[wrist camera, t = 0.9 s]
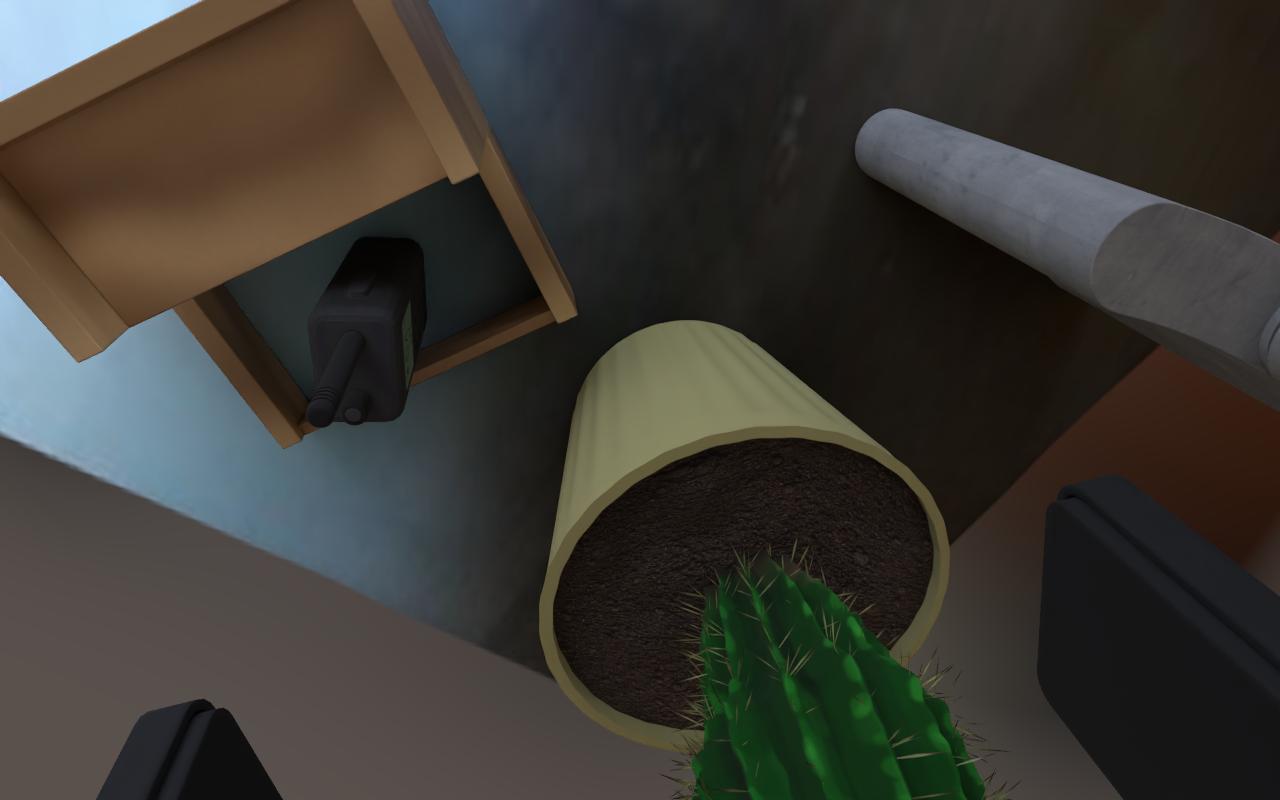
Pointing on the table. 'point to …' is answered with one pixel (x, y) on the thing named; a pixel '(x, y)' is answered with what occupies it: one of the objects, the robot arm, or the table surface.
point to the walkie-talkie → (368, 333)
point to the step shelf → (243, 175)
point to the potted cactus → (748, 580)
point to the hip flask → (1099, 243)
